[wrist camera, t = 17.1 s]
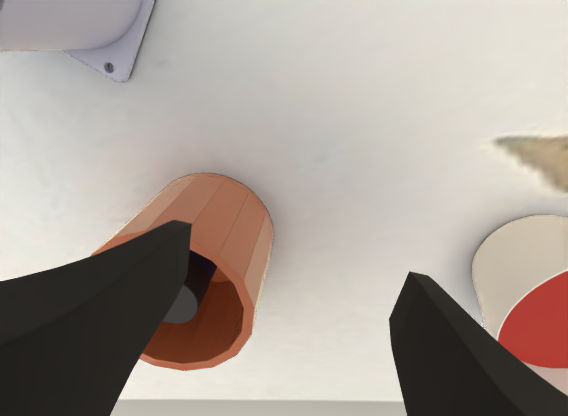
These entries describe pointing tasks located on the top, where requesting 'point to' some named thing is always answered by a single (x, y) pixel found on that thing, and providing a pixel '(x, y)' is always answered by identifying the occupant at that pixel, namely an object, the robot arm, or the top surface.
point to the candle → (528, 292)
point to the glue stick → (192, 289)
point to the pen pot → (223, 252)
